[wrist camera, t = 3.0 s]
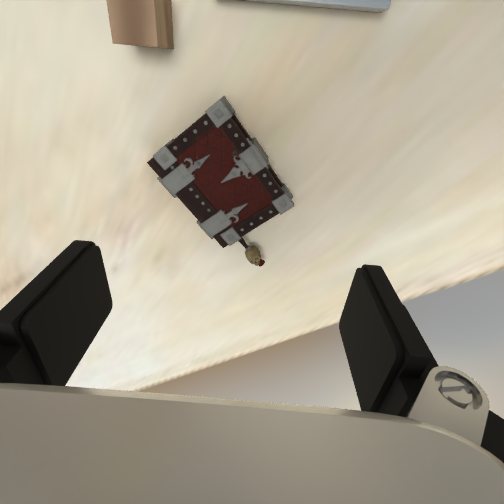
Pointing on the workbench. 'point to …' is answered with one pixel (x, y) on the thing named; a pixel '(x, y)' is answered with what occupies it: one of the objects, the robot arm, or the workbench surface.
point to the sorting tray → (338, 4)
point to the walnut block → (141, 22)
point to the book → (222, 178)
